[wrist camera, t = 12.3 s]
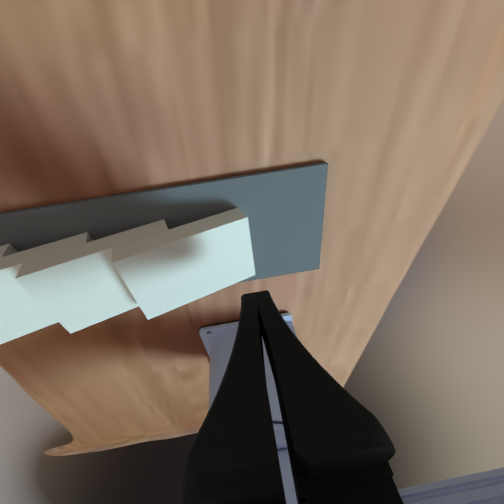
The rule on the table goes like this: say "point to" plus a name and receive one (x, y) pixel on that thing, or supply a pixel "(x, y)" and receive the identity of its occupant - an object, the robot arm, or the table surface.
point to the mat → (198, 215)
